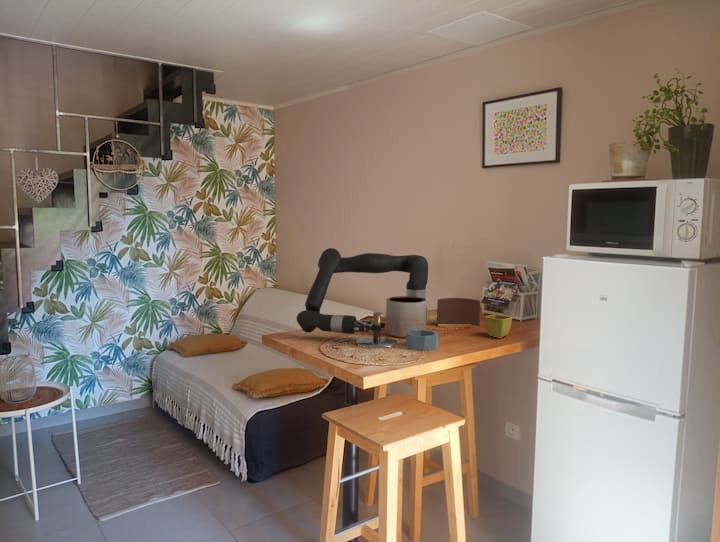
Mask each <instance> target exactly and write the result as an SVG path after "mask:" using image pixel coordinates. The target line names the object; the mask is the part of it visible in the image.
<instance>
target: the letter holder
mask: <svg viewBox="0 0 720 542" xmlns="http://www.w3.org/2000/svg"><path fill="white" fill-rule="evenodd" d="M480 323H481V301H480V300H478V299H474V298H466V297H465V298H464V297H446V298H445V297H444V298H439V299H438V300H437V313H436V325H437V324H471V325H475V326H480V327H481V324H480Z"/></svg>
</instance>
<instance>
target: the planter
mask: <svg viewBox="0 0 720 542" xmlns="http://www.w3.org/2000/svg"><path fill="white" fill-rule="evenodd" d="M385 303H386V304H385V305H386V306H385V308H386V309H385V333H386V334H387V336H389V337H393V338H400V339H406V333H407V332H408V331H410V330H427V325H426V305H427V299H424V298H420V297H411V296H405V295H404V296H403V295H399V296H390V297H387V298H386V302H385Z"/></svg>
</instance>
